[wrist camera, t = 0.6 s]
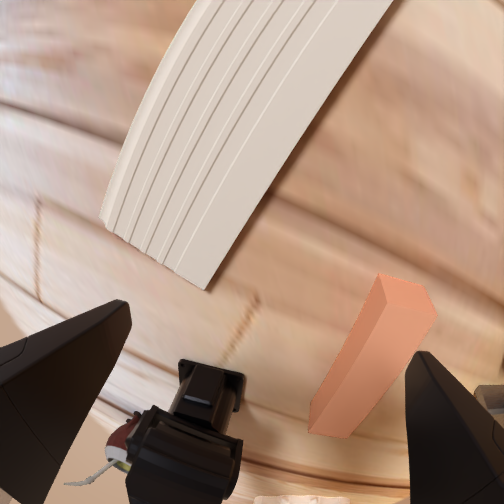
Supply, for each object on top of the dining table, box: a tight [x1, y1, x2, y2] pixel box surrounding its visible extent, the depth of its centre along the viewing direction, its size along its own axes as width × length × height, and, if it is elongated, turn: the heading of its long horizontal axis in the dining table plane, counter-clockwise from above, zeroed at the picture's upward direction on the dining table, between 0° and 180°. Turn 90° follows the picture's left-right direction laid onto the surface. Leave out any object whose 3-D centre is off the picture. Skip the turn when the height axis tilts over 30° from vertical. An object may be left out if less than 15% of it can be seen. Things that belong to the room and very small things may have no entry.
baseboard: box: [99, 0, 393, 290], centre depth 16 cm, size 31×3×12 cm
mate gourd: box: [64, 411, 142, 486], centre depth 31 cm, size 8×8×15 cm
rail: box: [308, 273, 438, 439], centre depth 24 cm, size 16×4×4 cm, turn 168°
